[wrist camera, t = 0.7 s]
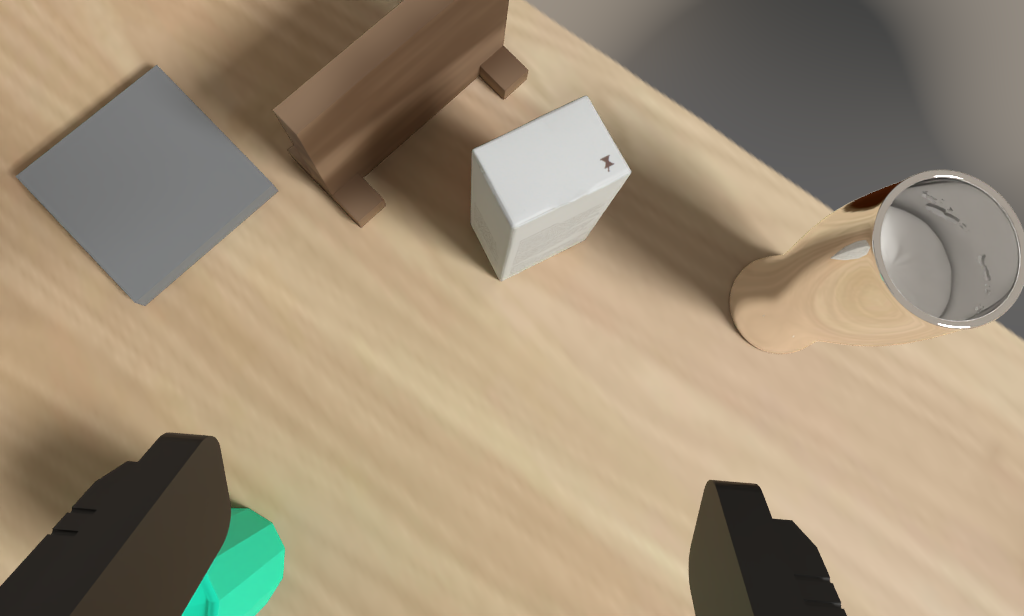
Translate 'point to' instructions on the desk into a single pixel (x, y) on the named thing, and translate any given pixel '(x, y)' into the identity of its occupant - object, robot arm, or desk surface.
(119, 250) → the grey mat
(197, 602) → the candle
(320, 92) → the walnut screen
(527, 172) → the skincare box
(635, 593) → the desk surface
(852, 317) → the beer glass
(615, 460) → the desk surface
